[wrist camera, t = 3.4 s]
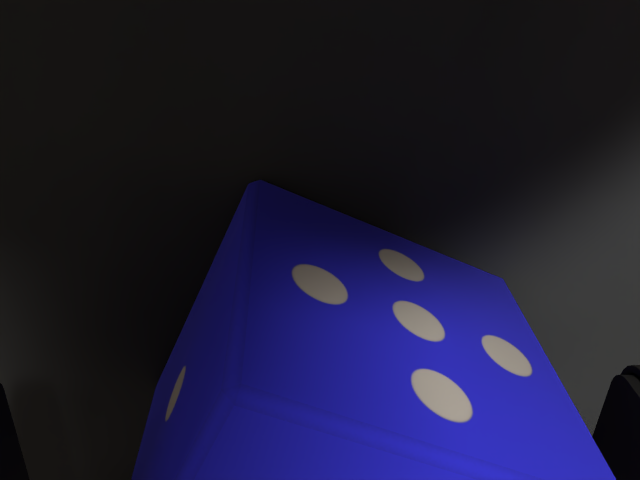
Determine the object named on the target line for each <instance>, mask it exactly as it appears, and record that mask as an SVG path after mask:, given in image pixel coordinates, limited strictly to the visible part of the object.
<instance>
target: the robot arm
mask: <svg viewBox="0 0 640 480" xmlns="http://www.w3.org/2000/svg"><path fill="white" fill-rule="evenodd" d="M592 438H593V439H594V441H595V443H596V445H597V446H598V448H599V450H600V452H601V453H602V455H603V457H604V459H605V461H606V462H607V464H608V466H609V468H610V469H611V471H612V473H613V475H614V476H615V478H616V480H640V365H631V366H627V367H626V368H625V369H623V371H622V373H621V375H616V376H615V377H614V378H613V380H612V382H611V385H610V388H609V390H608V393H607V396H606V399H605V402H604V405H603V408H602V410H601V413H600V416H599V419H598V422H597V425H596V428H595V431H594V433H593V436H592ZM0 480H29V477H28V473H27V469H26V466H25V462H24V459H23V455H22V452H21V448H20V444H19V441H18V437H17V434H16V430H15V427H14V423H13V420H12V416H11V412H10V409H9V405H8V402H7V398H6V395H5V391H4V388H3V386H2V384H1V383H0Z"/></svg>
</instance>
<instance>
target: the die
mask: <svg viewBox="0 0 640 480" xmlns="http://www.w3.org/2000/svg"><path fill="white" fill-rule="evenodd" d="M131 480H616V478H615V476H614V475H613V473H612V471H611V469H610V468H609V466H608V464H607V462H606V461H605V459H604V457H603V455H602V453H601V452H600V450H599V448H598V446H597V445H596V443H595V441H594V439H593V438H592V436H591V434H590V432H589V430H588V429H587V427H586V425H585V423H584V422H583V420H582V418H581V416H580V414H579V413H578V411H577V409H576V407H575V406H574V404H573V402H572V400H571V399H570V397H569V395H568V393H567V391H566V390H565V388H564V386H563V384H562V383H561V381H560V379H559V377H558V376H557V374H556V372H555V370H554V368H553V367H552V365H551V363H550V361H549V360H548V358H547V356H546V354H545V352H544V351H543V349H542V347H541V345H540V344H539V342H538V340H537V338H536V337H535V335H534V333H533V331H532V329H531V328H530V326H529V324H528V322H527V321H526V319H525V317H524V315H523V314H522V312H521V310H520V308H519V306H518V305H517V303H516V301H515V299H514V298H513V296H512V294H511V292H510V290H509V289H508V287H507V285H506V283H505V282H504V280H503V279H502V278H500V277H497V276H495V275H492V274H490V273H487V272H485V271H483V270H480V269H478V268H475V267H473V266H470V265H468V264H465V263H463V262H461V261H458V260H456V259H453V258H451V257H448V256H446V255H443V254H441V253H439V252H436V251H434V250H431V249H429V248H426V247H424V246H421V245H419V244H417V243H414V242H412V241H409V240H407V239H404V238H402V237H399V236H397V235H395V234H392V233H390V232H387V231H385V230H382V229H380V228H377V227H375V226H373V225H370V224H368V223H365V222H363V221H360V220H358V219H355V218H353V217H351V216H348V215H346V214H343V213H341V212H338V211H336V210H333V209H331V208H328V207H326V206H324V205H321V204H319V203H316V202H314V201H311V200H309V199H306V198H304V197H302V196H299V195H297V194H294V193H292V192H289V191H287V190H284V189H282V188H280V187H277V186H275V185H272V184H270V183H267V182H265V181H262V180H258V181H255V182H252V183H249V184H248V186H247V188H246V190H245V192H244V194H243V197H242V199H241V201H240V203H239V205H238V208H237V210H236V212H235V214H234V216H233V218H232V221H231V223H230V225H229V227H228V229H227V232H226V234H225V236H224V238H223V240H222V243H221V245H220V247H219V249H218V251H217V254H216V256H215V258H214V260H213V262H212V265H211V267H210V269H209V271H208V273H207V276H206V278H205V280H204V282H203V284H202V287H201V289H200V291H199V293H198V295H197V298H196V300H195V302H194V304H193V306H192V309H191V311H190V313H189V315H188V317H187V320H186V322H185V324H184V326H183V328H182V331H181V333H180V335H179V337H178V339H177V342H176V344H175V346H174V348H173V350H172V353H171V355H170V357H169V359H168V361H167V364H166V366H165V368H164V370H163V372H162V375H161V377H160V379H159V381H158V383H157V385H156V388H155V392H154V396H153V400H152V403H151V407H150V411H149V415H148V418H147V422H146V426H145V430H144V433H143V437H142V441H141V445H140V448H139V452H138V456H137V460H136V463H135V467H134V471H133V475H132V479H131Z"/></svg>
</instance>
